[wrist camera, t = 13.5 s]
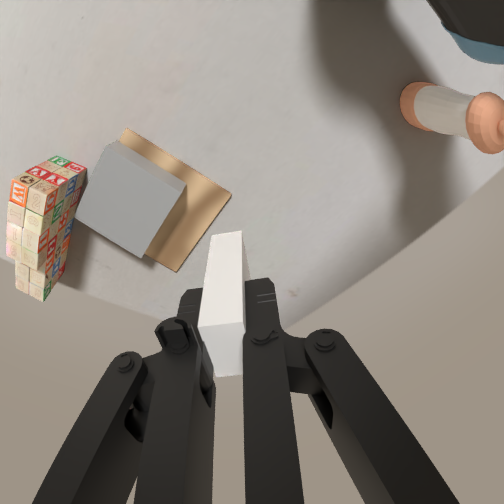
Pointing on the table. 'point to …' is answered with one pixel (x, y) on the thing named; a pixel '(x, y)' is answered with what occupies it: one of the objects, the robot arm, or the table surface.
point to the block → (128, 198)
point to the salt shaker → (456, 114)
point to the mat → (179, 204)
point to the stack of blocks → (42, 223)
